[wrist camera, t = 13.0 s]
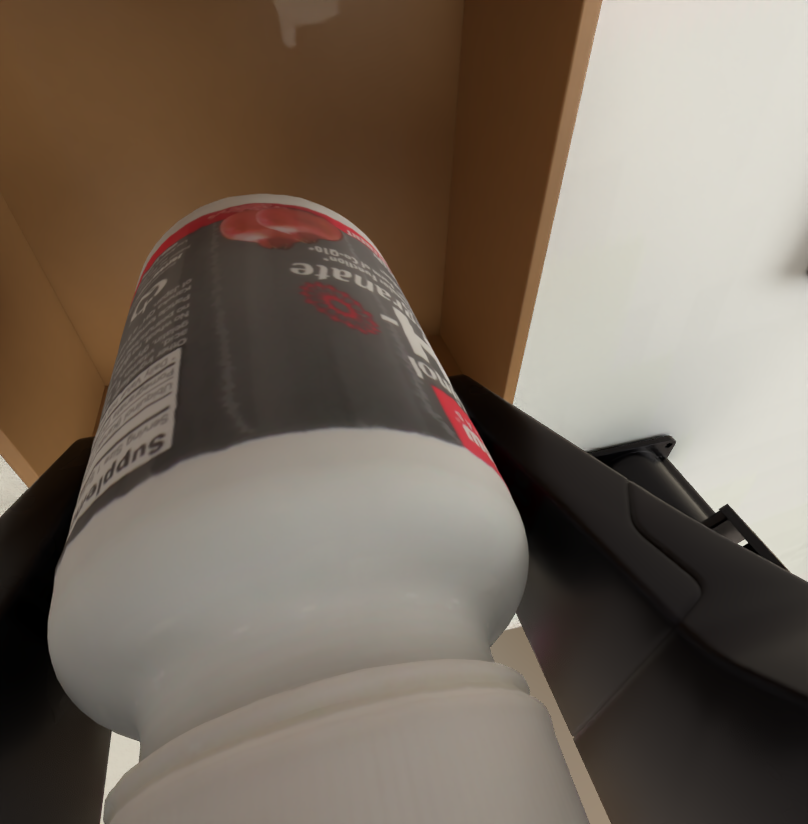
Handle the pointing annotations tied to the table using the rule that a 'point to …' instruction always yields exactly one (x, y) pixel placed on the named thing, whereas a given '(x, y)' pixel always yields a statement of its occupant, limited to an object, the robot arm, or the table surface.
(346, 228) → the pill bottle
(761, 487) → the table surface
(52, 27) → the carton
